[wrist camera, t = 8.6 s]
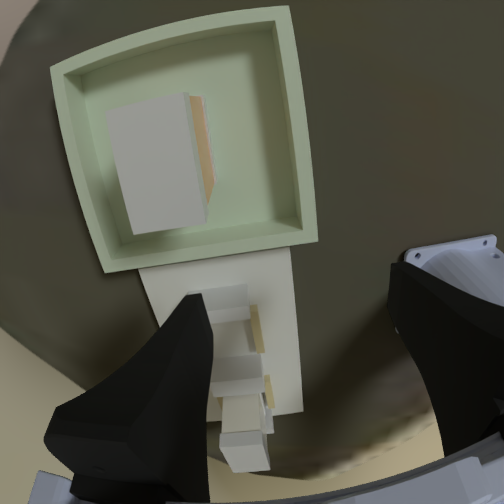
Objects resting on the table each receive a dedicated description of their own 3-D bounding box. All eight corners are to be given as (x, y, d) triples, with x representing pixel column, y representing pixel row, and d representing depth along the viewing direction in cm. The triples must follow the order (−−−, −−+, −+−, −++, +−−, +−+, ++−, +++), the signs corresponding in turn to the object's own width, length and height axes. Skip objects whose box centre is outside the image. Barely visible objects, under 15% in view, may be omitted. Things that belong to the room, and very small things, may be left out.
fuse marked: (205, 95, 16) (182, 91, 10) (218, 178, 18) (206, 223, 12) (153, 105, 16) (105, 111, 10) (168, 186, 18) (133, 234, 12)
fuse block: (287, 240, 21) (295, 266, 18) (301, 403, 29) (306, 431, 26) (141, 262, 21) (127, 290, 18) (203, 414, 29) (201, 441, 26)
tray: (281, 18, 14) (288, 5, 12) (308, 222, 20) (318, 241, 18) (72, 68, 15) (49, 67, 13) (118, 252, 21) (104, 273, 18)
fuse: (258, 372, 25) (262, 444, 19) (265, 405, 27) (270, 470, 21) (222, 376, 25) (219, 447, 19) (233, 408, 28) (233, 472, 21)
